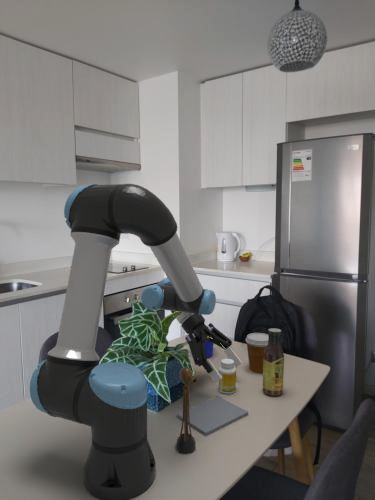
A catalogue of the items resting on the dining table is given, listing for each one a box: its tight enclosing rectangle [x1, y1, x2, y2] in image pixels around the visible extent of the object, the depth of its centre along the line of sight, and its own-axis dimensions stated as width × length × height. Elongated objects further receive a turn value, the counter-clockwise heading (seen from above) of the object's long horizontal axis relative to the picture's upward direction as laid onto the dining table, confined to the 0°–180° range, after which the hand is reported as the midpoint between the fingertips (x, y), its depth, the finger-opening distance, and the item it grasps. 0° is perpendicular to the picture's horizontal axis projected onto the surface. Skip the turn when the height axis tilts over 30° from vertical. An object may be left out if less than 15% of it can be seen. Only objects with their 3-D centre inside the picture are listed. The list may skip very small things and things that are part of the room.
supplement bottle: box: [218, 358, 237, 395], centre depth 124 cm, size 5×5×10 cm
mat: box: [175, 395, 249, 437], centre depth 109 cm, size 16×12×1 cm
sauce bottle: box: [262, 327, 285, 397], centre depth 122 cm, size 6×6×20 cm
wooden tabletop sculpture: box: [175, 366, 198, 455], centre depth 93 cm, size 6×5×20 cm
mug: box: [205, 341, 215, 358], centre depth 154 cm, size 8×12×10 cm
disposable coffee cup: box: [245, 332, 269, 374], centre depth 139 cm, size 10×10×12 cm
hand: (229, 372), depth 124 cm, fingers open, 13 cm apart
